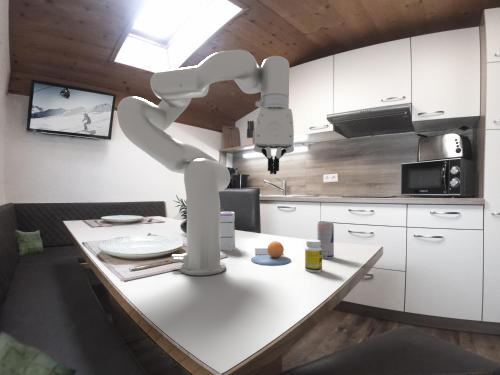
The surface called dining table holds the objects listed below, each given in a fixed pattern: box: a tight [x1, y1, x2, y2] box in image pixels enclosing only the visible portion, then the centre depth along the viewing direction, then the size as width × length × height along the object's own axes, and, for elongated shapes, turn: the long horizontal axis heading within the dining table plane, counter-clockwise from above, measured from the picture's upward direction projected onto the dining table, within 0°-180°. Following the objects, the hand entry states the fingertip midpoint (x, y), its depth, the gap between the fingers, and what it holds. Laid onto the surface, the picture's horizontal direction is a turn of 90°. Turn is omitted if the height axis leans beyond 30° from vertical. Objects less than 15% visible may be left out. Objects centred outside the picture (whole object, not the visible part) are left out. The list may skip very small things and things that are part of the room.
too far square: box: [254, 247, 284, 256], centre depth 97 cm, size 10×10×1 cm
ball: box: [267, 240, 285, 258], centre depth 88 cm, size 6×6×6 cm
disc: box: [250, 255, 292, 267], centre depth 85 cm, size 13×13×1 cm
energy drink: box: [316, 220, 335, 260], centre depth 89 cm, size 5×5×12 cm
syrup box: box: [220, 211, 236, 251], centre depth 102 cm, size 6×6×14 cm
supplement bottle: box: [304, 239, 323, 273], centre depth 74 cm, size 5×5×8 cm
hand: (273, 173), depth 70 cm, fingers closed
